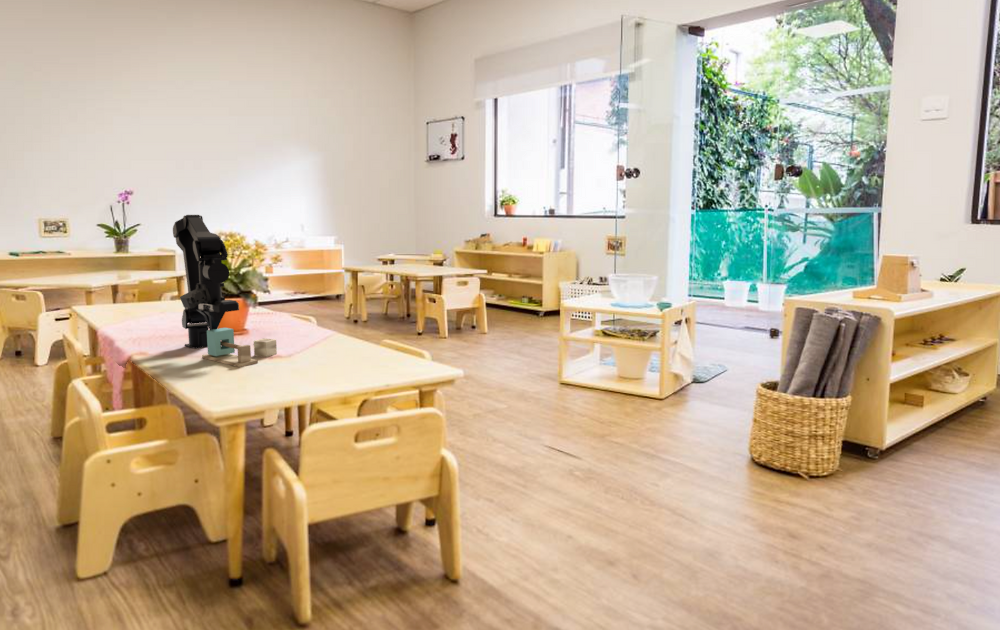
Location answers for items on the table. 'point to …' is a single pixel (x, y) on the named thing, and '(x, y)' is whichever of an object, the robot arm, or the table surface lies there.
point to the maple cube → (265, 347)
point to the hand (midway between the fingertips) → (213, 333)
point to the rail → (234, 356)
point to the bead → (214, 341)
